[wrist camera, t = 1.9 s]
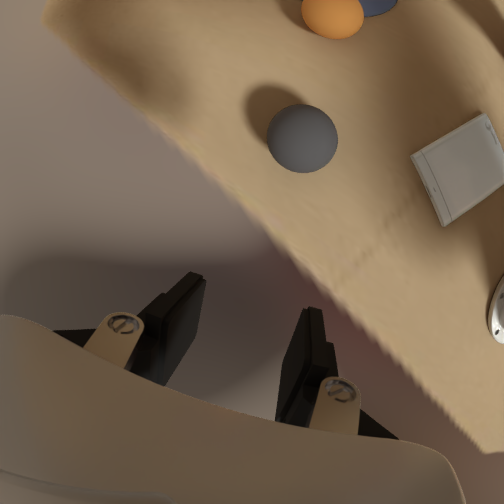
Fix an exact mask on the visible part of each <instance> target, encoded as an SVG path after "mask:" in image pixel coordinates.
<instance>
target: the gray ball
mask: <svg viewBox="0 0 504 504" xmlns="http://www.w3.org/2000/svg"><path fill="white" fill-rule="evenodd" d="M267 143H268V147H269V150H270V152H271V154H272V156H273V157H274V159H275V160H276V161H277V162H278V163H279V164H280V165H281V166H283V167H284V168H286V169H288V170H290V171H293V172H298V173H309V172H314V171H317V170H319V169H321V168H322V167H324V166H325V165H327V164H328V163H329V161H330V160H331V159H332V158H333V156H334V154H335V152H336V149H337V144H338V136H337V131H336V128H335V126H334V124H333V122H332V120H331V119H330V118H329V117H328V115H327V114H325V113H324V112H323V111H321V110H320V109H318V108H316V107H313V106H310V105H303V104H299V105H292V106H289V107H287V108H284V109H283V110H281V111H280V112H279V113H277V114H276V116H275V117H274V118H273V119H272V121H271V123H270V125H269V128H268V132H267Z"/></svg>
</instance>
